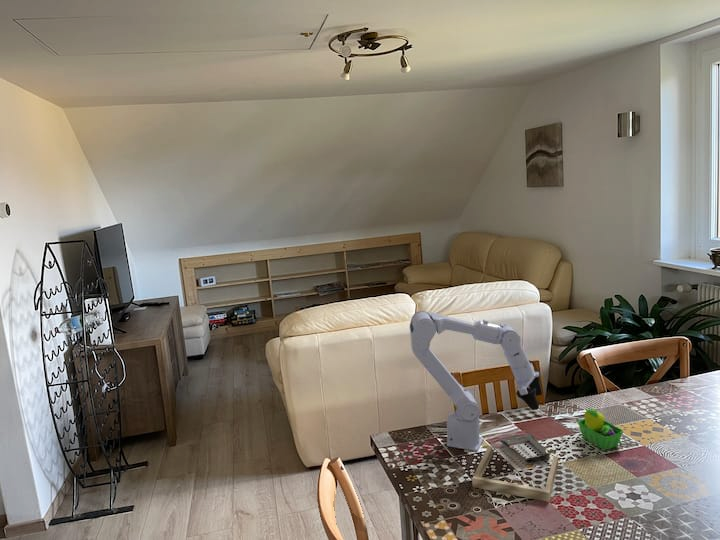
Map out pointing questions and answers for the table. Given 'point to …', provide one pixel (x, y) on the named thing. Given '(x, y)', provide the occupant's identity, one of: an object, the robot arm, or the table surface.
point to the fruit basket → (599, 430)
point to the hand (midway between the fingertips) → (537, 401)
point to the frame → (511, 487)
